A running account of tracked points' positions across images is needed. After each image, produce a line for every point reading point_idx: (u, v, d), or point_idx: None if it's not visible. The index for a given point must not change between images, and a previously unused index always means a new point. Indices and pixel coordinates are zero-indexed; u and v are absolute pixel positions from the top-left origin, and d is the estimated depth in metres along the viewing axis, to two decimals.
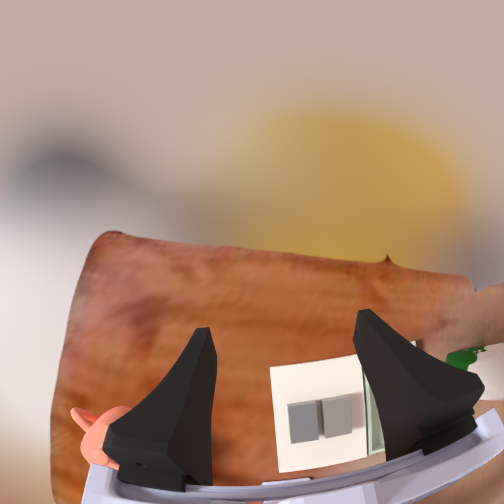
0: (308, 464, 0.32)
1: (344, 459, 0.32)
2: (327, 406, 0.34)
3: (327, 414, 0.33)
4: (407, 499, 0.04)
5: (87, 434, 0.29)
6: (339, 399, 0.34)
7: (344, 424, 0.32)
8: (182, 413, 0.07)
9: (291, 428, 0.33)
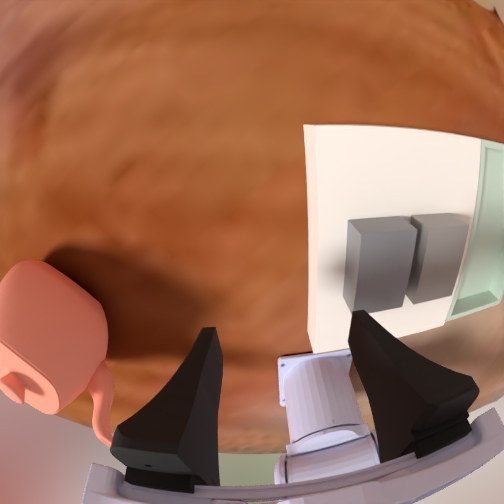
0: None
1: (416, 329, 0.22)
2: (434, 240, 0.15)
3: (429, 257, 0.16)
4: (407, 499, 0.04)
5: None
6: (454, 227, 0.15)
7: (447, 279, 0.17)
8: (191, 413, 0.07)
9: (360, 285, 0.17)
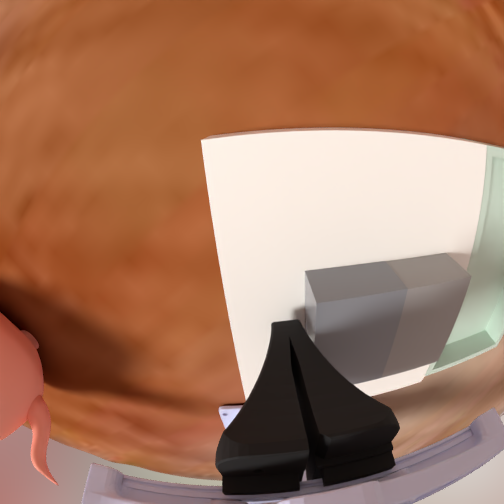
0: None
1: (384, 389, 0.17)
2: (414, 303, 0.10)
3: (406, 325, 0.11)
4: (407, 499, 0.04)
5: None
6: (448, 283, 0.10)
7: (432, 345, 0.12)
8: (299, 407, 0.07)
9: None
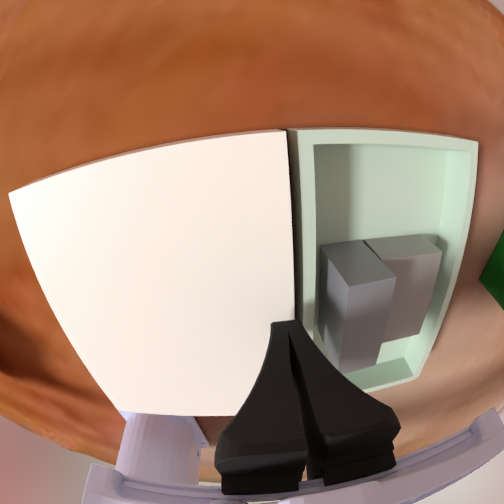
0: (164, 409, 0.17)
1: None
2: None
3: None
4: (407, 499, 0.04)
5: None
6: None
7: None
8: (298, 407, 0.07)
9: None
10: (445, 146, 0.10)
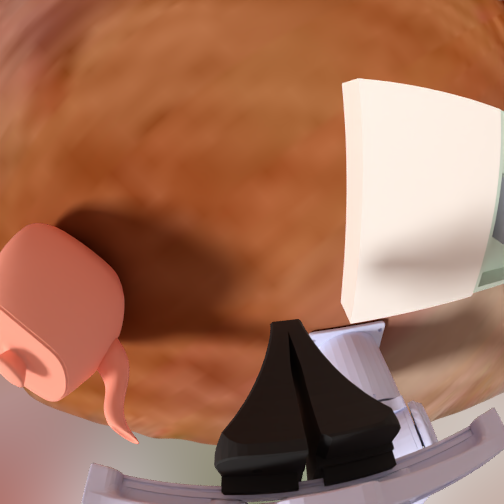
0: (400, 306, 0.21)
1: (448, 298, 0.21)
2: None
3: None
4: (407, 499, 0.04)
5: None
6: None
7: None
8: (298, 407, 0.07)
9: None
10: None
